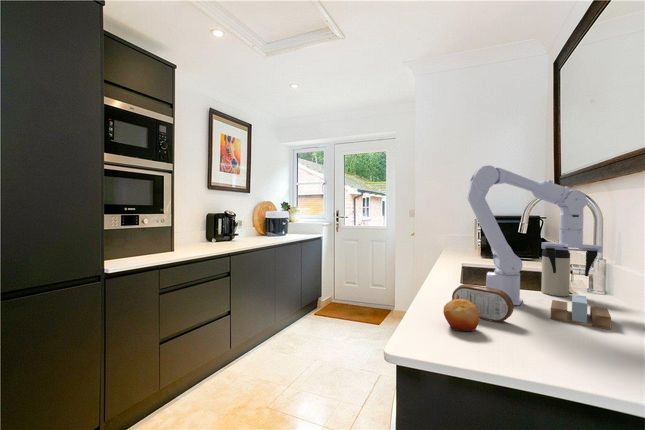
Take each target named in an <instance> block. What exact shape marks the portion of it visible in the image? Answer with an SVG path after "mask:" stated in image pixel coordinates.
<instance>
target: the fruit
mask: <svg viewBox="0 0 645 430" xmlns="http://www.w3.org/2000/svg"><path fill="white" fill-rule="evenodd" d="M442 311H443V317H444V318H445V320H446V322H447V323H448V325H449V327H450V328H451V329H452V330H454V331H463V332H472V331H473V332H474V330H476V329H477V328H478V325H479V322H480V319H481V318H480V313H479V311H478V308H477V306H476V305H474V304H473V303H471V302H470V301H468V300H467V299H454V300H452V299H451V300H449V301H447V302H446V303H445V305H444V306H443V310H442Z"/></svg>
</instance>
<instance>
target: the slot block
mask: <svg viewBox="0 0 645 430" xmlns="http://www.w3.org/2000/svg"><path fill="white" fill-rule="evenodd" d="M550 320H554V321H560V322H565V323H571V324H577V325H583V326H587V327H588V326H589V327H593V328H594V327H595V328H601V329H606V330H612V317H611V313H610V311H609V309H608V307H604V306H597V305H590V306H589V313H587V323H583V322H577V321H572V310H568V301H562V300H555V299H552V300H551V306H550Z"/></svg>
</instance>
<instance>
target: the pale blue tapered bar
mask: <svg viewBox="0 0 645 430" xmlns="http://www.w3.org/2000/svg"><path fill="white" fill-rule="evenodd" d="M571 311H572V321H577V322H583V323H587V314H588V300H587V296H586V295H584V296H583V295H577V294H571Z"/></svg>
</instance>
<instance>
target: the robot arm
mask: <svg viewBox="0 0 645 430" xmlns="http://www.w3.org/2000/svg"><path fill="white" fill-rule="evenodd" d="M501 184H502V185H503V184H507V185H510V186H513V187H517V188H519V189H523V190H525V191H528V192H531V193H532V195H533V197H534V198H535V199H536V198H537V199H539V200H542V201H544V202H547V203H550V204H553V205H557V206H558V208H559V234H558V235H559V236H558V243H546V242H547V241H545V242H543V241H541V249H542V250H544V249H546V253H547V255H548V257H549V259H550V262H551V265H552V268H553V273H556V249H557V250H568V251H573V252H586V253H585V268H584V276H585V277H589V272H590V270H591V267H592V265H593V263H594V262H595V260H596V259H597V257H598V253H600V254H602V253H603V248H604V247H603V245H595V244H585V243H584V209H585V207H586V206H587V204H588V203H589V199H588V198H587V196H586V194H585V193H584V192H582V191H581V190H578V189H577V190H576V189H573V190H571V189H570V186H567V185H566V186H562V185H561V184H557V183H554V180H551V179H547V180H545V179H543V180H540V181H535V180H533V179H529V178H527V177H525V176H522V175H520V174H517V173H515V172H512V171H510V170H507V169H504V168H501V167H495V166H492V165H482V166H481V167H479V169H478V170H476V171H475V172H474V173H473V175H472V177H470V180H469V187H468V192H467V196H466V197H467V201H468V203H469V205H470V207H471V209H472V212H473V213H474V215H475V217H476V219H477V222H478V223H479V225H480V227H481V229H482V232H483V234H484V236H485V237H486V239H487V242H488V244H489V246H490V249H491V250H490V251H491V253H492V256H493V264H494V265H495V269H494V270H493V271H487V272H486V279H485V287H488V288H494V289H499V290H501V291H503V292H505V293H506V294H507V295H508V296H509V297H510V298H511V300H512V302H513V305H515V306H521V303H522V301H523V298H521V297H520V295H521V294H520V293H521V292H520V291H521V273H520V271H521V270H522V269H523V261H522V259H521V258H520V257H519V256H517V255H516V253H514V251H513V249H512V247H511V246H510V245H509V244H508V241H507V240H506V238H505V236H504V233H503V232H502V230H501V228H500V226H499V224H498V222H497V219H496V217H495V216H494V213H493V211H492V210H491V208H490V205H489V203H488V201H487V199H486V196H487V194H488V193H489V191H490V189H491V188H492V186H493V185H501ZM563 247H568V248H563Z"/></svg>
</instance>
